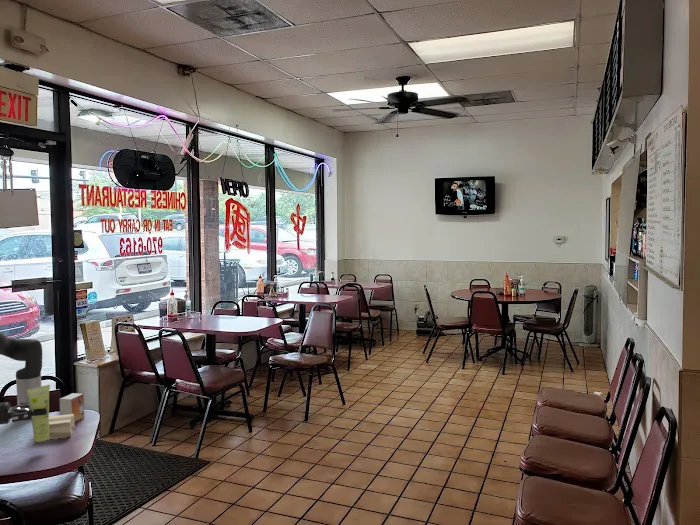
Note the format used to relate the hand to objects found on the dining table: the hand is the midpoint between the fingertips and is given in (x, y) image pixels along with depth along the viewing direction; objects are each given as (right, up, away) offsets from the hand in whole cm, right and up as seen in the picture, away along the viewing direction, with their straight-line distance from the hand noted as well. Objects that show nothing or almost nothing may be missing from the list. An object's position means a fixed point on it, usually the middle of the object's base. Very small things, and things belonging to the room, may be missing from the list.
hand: (47, 408), depth 204 cm
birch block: (-6, -14, +17) cm, 23 cm away
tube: (-3, -11, 0) cm, 12 cm away
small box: (-7, -13, +32) cm, 36 cm away
